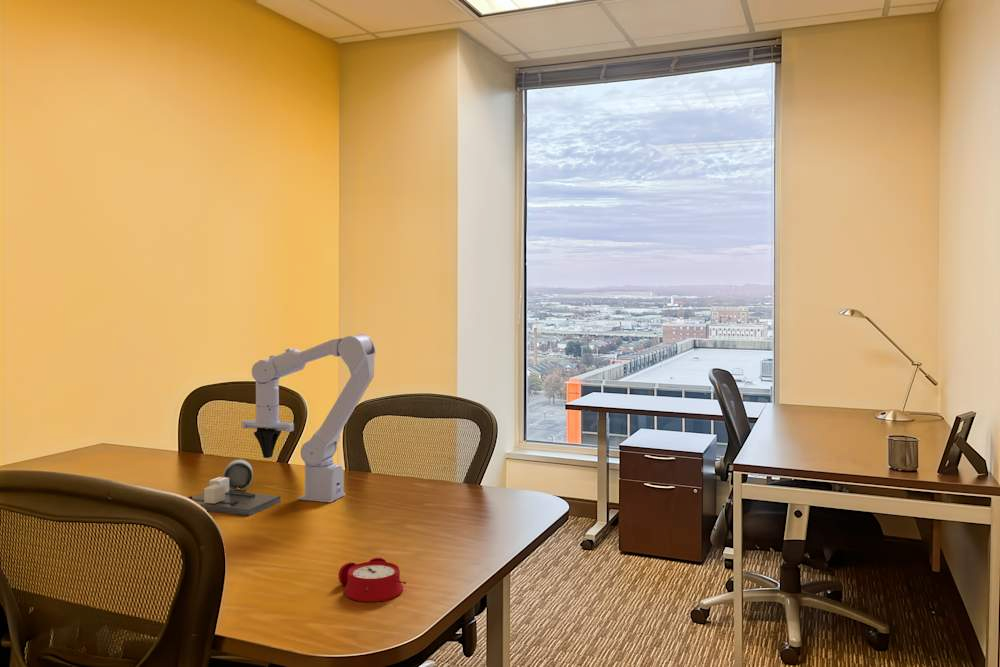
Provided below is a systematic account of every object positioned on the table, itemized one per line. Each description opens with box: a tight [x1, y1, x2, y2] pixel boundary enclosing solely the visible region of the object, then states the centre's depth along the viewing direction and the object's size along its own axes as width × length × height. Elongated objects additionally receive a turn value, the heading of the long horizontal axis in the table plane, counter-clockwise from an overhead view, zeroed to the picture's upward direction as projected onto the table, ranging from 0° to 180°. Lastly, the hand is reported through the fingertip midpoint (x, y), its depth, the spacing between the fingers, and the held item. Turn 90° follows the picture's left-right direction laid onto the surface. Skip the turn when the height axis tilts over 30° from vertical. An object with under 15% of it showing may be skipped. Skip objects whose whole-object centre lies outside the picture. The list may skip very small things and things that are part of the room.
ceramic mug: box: [222, 459, 254, 491], centre depth 213 cm, size 11×8×8 cm
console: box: [187, 490, 281, 516], centre depth 196 cm, size 20×13×2 cm, turn 72°
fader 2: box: [203, 485, 225, 504], centre depth 193 cm, size 3×4×4 cm
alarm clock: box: [338, 557, 407, 603], centre depth 142 cm, size 10×6×15 cm
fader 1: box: [208, 476, 230, 493], centre depth 201 cm, size 3×4×4 cm
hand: (267, 457), depth 205 cm, fingers closed
